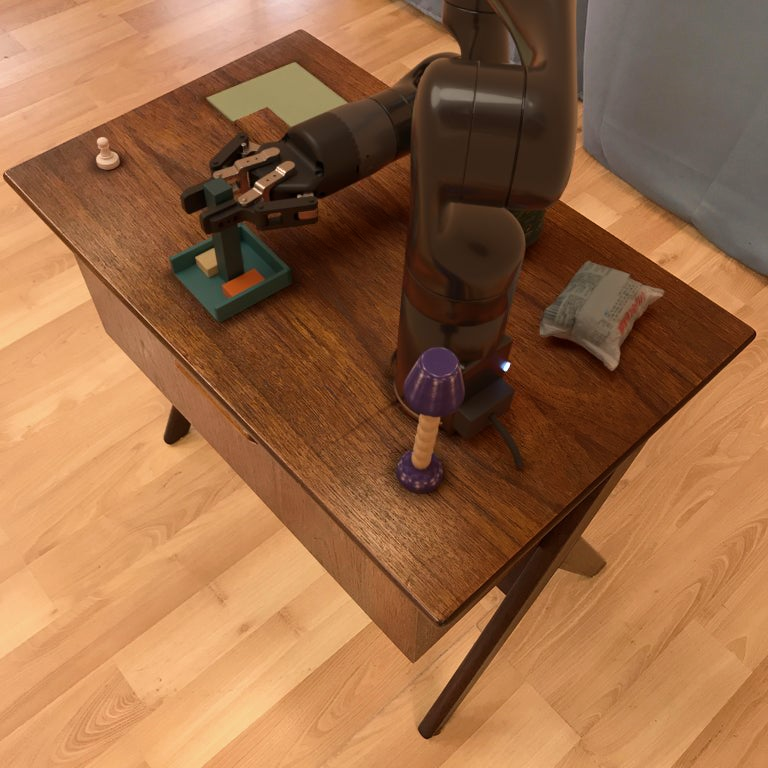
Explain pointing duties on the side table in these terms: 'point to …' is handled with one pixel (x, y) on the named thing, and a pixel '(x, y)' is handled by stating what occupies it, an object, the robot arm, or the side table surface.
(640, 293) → the packaged food
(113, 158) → the chess pawn
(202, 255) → the block
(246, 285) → the block
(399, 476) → the toy lamp
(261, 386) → the side table surface
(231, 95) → the mat
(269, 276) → the tray with upright handle
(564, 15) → the robot arm
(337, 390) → the side table surface
